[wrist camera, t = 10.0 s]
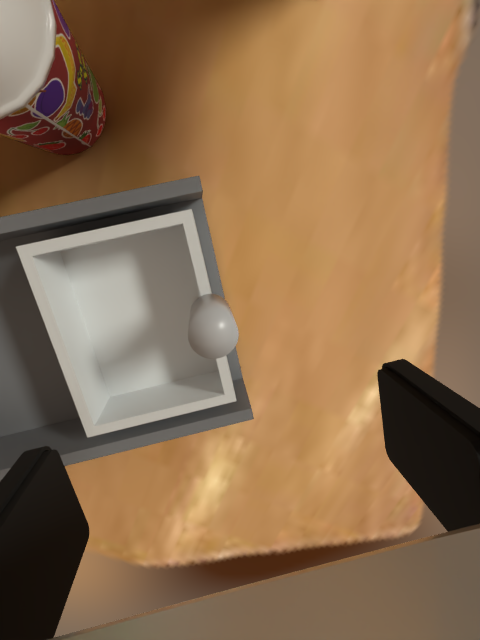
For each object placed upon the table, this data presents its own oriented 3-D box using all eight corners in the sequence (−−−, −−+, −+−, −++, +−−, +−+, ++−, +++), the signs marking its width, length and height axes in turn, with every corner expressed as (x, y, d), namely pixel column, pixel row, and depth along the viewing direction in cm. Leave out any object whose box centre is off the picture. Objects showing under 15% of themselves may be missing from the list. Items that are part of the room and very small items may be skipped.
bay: (199, 186, 31) (199, 175, 24) (243, 382, 36) (253, 419, 29) (-134, 257, 29) (-233, 266, 23) (-38, 451, 34) (-96, 505, 28)
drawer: (205, 209, 30) (209, 199, 19) (241, 369, 34) (261, 436, 23) (50, 243, 29) (-37, 252, 18) (106, 402, 33) (61, 486, 23)
